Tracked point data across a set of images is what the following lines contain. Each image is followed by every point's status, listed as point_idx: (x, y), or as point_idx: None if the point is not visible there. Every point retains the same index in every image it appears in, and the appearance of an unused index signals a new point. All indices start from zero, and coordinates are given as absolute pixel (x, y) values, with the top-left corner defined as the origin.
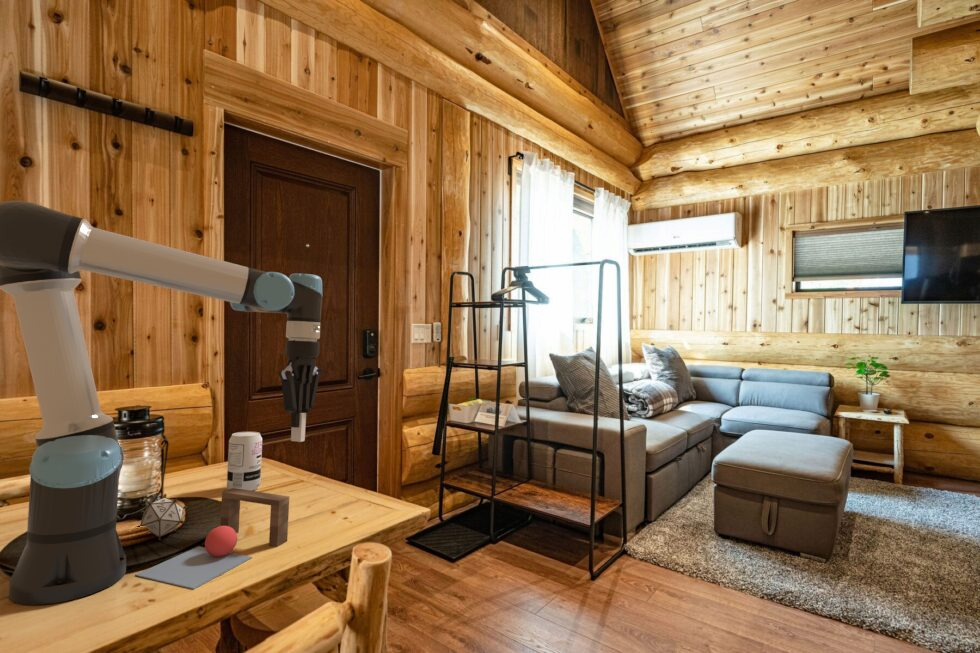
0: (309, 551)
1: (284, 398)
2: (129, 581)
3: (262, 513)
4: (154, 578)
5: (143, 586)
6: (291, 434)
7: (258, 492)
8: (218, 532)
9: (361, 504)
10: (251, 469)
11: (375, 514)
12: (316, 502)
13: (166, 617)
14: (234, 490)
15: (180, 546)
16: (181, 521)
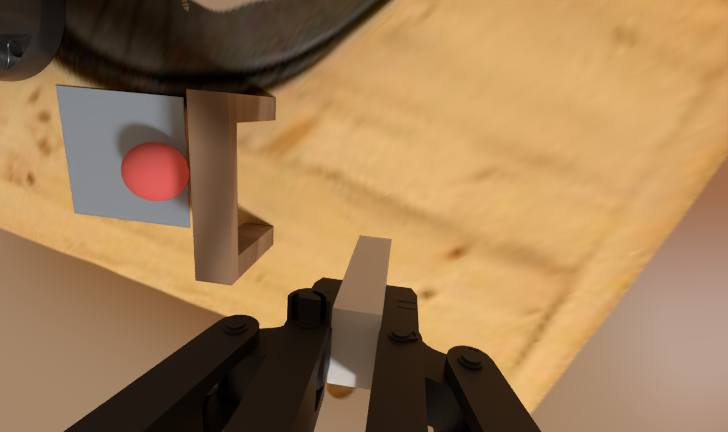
0: (250, 303)
1: (129, 396)
2: (43, 93)
3: (400, 88)
4: (63, 129)
5: (45, 131)
6: (356, 247)
7: (224, 193)
8: (125, 181)
9: (530, 291)
10: None
11: (466, 344)
12: (521, 176)
13: (17, 232)
14: (211, 114)
15: (172, 55)
16: (182, 3)
